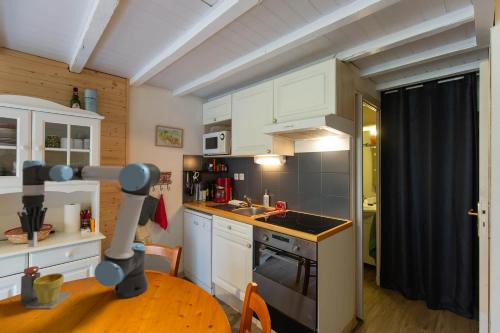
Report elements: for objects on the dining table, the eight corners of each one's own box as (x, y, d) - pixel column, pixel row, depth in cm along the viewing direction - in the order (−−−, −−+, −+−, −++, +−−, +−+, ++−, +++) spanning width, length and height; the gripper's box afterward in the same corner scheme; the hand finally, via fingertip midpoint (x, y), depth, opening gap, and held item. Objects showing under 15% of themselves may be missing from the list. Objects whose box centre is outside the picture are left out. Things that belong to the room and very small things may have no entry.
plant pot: (45, 308, 101) (46, 284, 101) (26, 304, 103) (27, 282, 103) (68, 295, 111) (69, 274, 111) (50, 292, 113) (51, 271, 113)
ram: (40, 293, 110) (41, 266, 110) (31, 299, 105) (31, 270, 105) (29, 293, 110) (30, 266, 110) (20, 299, 105) (20, 270, 105)
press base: (70, 295, 113) (71, 269, 113) (51, 308, 102) (52, 280, 102) (35, 294, 113) (36, 269, 113) (12, 308, 102) (13, 280, 102)
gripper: (37, 192, 114) (36, 241, 114) (10, 195, 101) (9, 251, 101) (53, 192, 114) (52, 241, 114) (28, 196, 101) (27, 251, 101)
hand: (32, 246), depth 108 cm, fingers closed
